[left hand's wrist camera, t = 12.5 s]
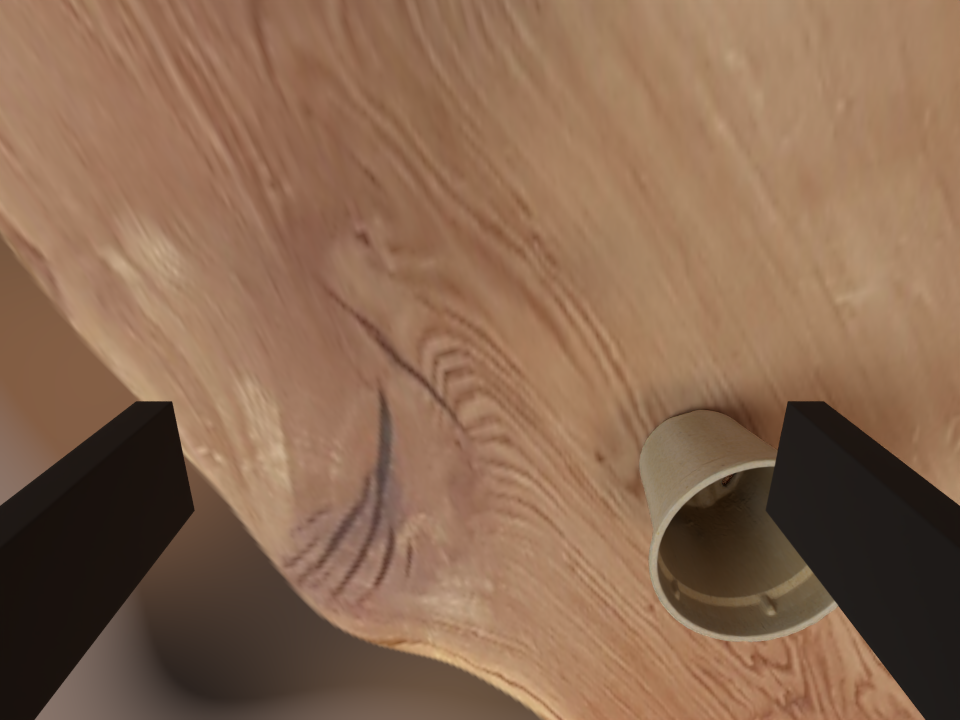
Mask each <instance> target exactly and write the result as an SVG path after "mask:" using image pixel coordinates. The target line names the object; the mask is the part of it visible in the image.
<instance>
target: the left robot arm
mask: <svg viewBox="0 0 960 720" xmlns="http://www.w3.org/2000/svg"><path fill="white" fill-rule="evenodd" d="M765 511H766V512H767V513H768V515H769V516H770V517H771V518H772V520H773V521H774V522H775V524H776V525H777V526H778V528H779V529H780V530H781V532H782V533H783V534H784V535H785V537H786V538H787V539H788V541H789V542H790V543H791V545H792V546H793V547H794V549H795V550H796V551H797V552H798V554H799V555H800V556H801V558H802V559H803V560H804V562H805V563H806V564H807V565H808V567H809V568H810V569H811V571H812V572H813V573H814V575H815V576H816V577H817V579H818V580H819V581H820V582H821V584H822V585H823V586H824V588H825V589H826V590H827V592H828V593H829V594H830V596H831V597H832V598H833V599H834V601H835V602H836V603H837V605H838V606H839V607H840V609H841V610H842V611H843V613H844V614H845V615H846V616H847V618H848V619H849V620H850V622H851V623H852V624H853V626H854V627H855V628H856V630H857V631H858V632H859V633H860V635H861V636H862V637H863V639H864V640H865V641H866V643H867V644H868V645H869V647H870V648H871V649H872V650H873V652H874V653H875V654H876V656H877V657H878V658H879V660H880V661H881V662H882V664H883V665H884V666H885V667H886V669H887V670H888V671H889V673H890V674H891V675H892V677H893V678H894V679H895V681H896V682H897V683H898V684H899V686H900V687H901V688H902V690H903V691H904V692H905V694H906V695H907V696H908V697H909V699H910V700H911V701H912V703H913V704H914V705H915V707H916V708H917V709H918V711H919V712H920V713H921V714H922V716H923V717H924V718H925V720H960V506H959V505H958V504H957V503H955V502H954V501H953V500H951V499H950V498H949V497H948V496H946V495H945V494H944V493H942V492H941V491H940V490H938V489H937V488H936V487H935V486H933V485H932V484H931V483H929V482H928V481H927V480H925V479H924V478H923V477H922V476H920V475H919V474H918V473H916V472H915V471H914V470H912V469H911V468H910V467H909V466H907V465H906V464H905V463H903V462H902V461H901V460H899V459H898V458H897V457H895V456H894V455H893V454H892V453H890V452H889V451H888V450H886V449H885V448H884V447H882V446H881V445H880V444H879V443H877V442H876V441H875V440H873V439H872V438H871V437H869V436H868V435H867V434H866V433H864V432H863V431H862V430H860V429H859V428H858V427H856V426H855V425H854V424H853V423H851V422H850V421H849V420H847V419H846V418H845V417H843V416H842V415H841V414H839V413H838V412H837V411H836V410H834V409H833V408H832V407H830V406H829V405H828V404H826V403H825V402H824V401H788V403H787V408H786V413H785V418H784V423H783V428H782V432H781V437H780V442H779V447H778V452H777V457H776V462H775V466H774V471H773V476H772V481H771V486H770V491H769V496H768V500H767V505H766V510H765ZM193 512H194V505H193V501H192V496H191V491H190V486H189V481H188V476H187V471H186V466H185V462H184V457H183V452H182V447H181V442H180V437H179V432H178V428H177V423H176V418H175V413H174V408H173V403H172V401H136V402H135V403H134V404H132V405H131V406H130V407H128V408H127V409H126V410H124V411H123V412H122V413H121V414H119V415H118V416H117V417H115V418H114V419H113V420H112V421H110V422H109V423H108V424H106V425H105V426H104V427H102V428H101V429H100V430H98V431H97V432H96V433H94V434H93V435H92V436H91V437H89V438H88V439H87V440H85V441H84V442H83V443H81V444H80V445H79V446H78V447H76V448H75V449H74V450H72V451H71V452H70V453H68V454H67V455H66V456H65V457H63V458H62V459H61V460H59V461H58V462H57V463H55V464H54V465H53V466H51V467H50V468H49V469H48V470H46V471H45V472H44V473H42V474H41V475H40V476H38V477H37V478H36V479H35V480H33V481H32V482H31V483H29V484H28V485H27V486H25V487H24V488H23V489H22V490H20V491H19V492H18V493H16V494H15V495H14V496H12V497H11V498H10V499H9V500H7V501H6V502H5V503H3V504H2V505H1V506H0V720H35V718H36V717H37V716H38V714H39V713H40V712H41V710H42V709H43V708H44V707H45V705H46V704H47V703H48V701H49V700H50V699H51V697H52V696H53V695H54V694H55V692H56V691H57V690H58V688H59V687H60V686H61V684H62V683H63V682H64V680H65V679H66V678H67V677H68V675H69V674H70V673H71V671H72V670H73V669H74V667H75V666H76V665H77V664H78V662H79V661H80V660H81V658H82V657H83V656H84V654H85V653H86V652H87V650H88V649H89V648H90V647H91V645H92V644H93V643H94V641H95V640H96V639H97V637H98V636H99V635H100V633H101V632H102V631H103V629H104V628H105V627H106V625H107V624H108V623H109V622H110V620H111V619H112V618H113V616H114V615H115V614H116V613H117V611H118V610H119V609H120V607H121V606H122V605H123V603H124V602H125V601H126V599H127V598H128V597H129V596H130V594H131V593H132V592H133V590H134V589H135V588H136V586H137V585H138V584H139V582H140V581H141V580H142V578H143V577H144V576H145V575H146V573H147V572H148V571H149V569H150V568H151V567H152V565H153V564H154V563H155V562H156V560H157V559H158V558H159V556H160V555H161V554H162V552H163V551H164V550H165V548H166V547H167V546H168V545H169V543H170V542H171V541H172V539H173V538H174V537H175V535H176V534H177V533H178V531H179V530H180V529H181V528H182V526H183V525H184V524H185V522H186V521H187V520H188V518H189V517H190V516H191V515H192V513H193Z"/></svg>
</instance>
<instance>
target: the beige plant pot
mask: <svg viewBox="0 0 960 720" xmlns="http://www.w3.org/2000/svg"><path fill="white" fill-rule="evenodd" d="M777 452H778V450H777V449H775V448H774V447H772V446H771V445H769V444H768V443H766V442H765V441H763V440H762V439H760V438H759V437H757V436H756V435H754V434H753V433H752V432H750V431H749V430H747V429H746V428H745V427H743V426H742V425H740V424H739V423H738V422H736V421H735V420H734V419H732V418H731V417H729V416H727V415H725V414H722V413H719V412H715V411H709V410H695V411H692V412H690V413H686V414H682V415H679V416H676V417H672V418H669V419H667V420H665V421H664V422H663V423H661V424H660V425H659V426H658V427H657V428H656V429H655V430H654V431H653V432H652V433H651V435H650V436H649V437H648V439H647V440H646V442H645V444H644V446H643V448H642V451H641V455H640V460H639V467H640V475H641V480H642V483H643V486H644V490H645V495H646V499H647V503H648V508H649V512H650V517H651V521H652V526H653V536H652V541H651V545H650V550H649V572H650V578H651V581H652V584H653V587H654V590H655V592H656V594H657V596H658V598H659V600H660V602H661V603H662V605H663V606H664V607H665V609H666V610H667V611H668V612H669V613H670V615H672V616H673V617H674V618H675V619H676V620H677V621H679V622H680V623H681V624H683V625H684V626H686V627H687V628H689V629H691V630H693V631H695V632H697V633H700V634H702V635H705V636H709V637H712V638H716V639H721V640H726V641H736V642H740V641H748V642H752V641H755V642H756V641H767V640H772V639H776V638H780V637H784V636H788V635H790V634H793V633H795V632H798V631H800V630H802V629H805V628H806V627H808V626H810V625H813V624H815V623H816V622H818V621H820V620H821V619H823V618H824V617H825V616H826V615H828V614H829V613H830V612H832V611H833V610H835V609H836V608H837V607H838V605H837V603H836V602H835V601H834V599H833V598H832V597H831V596H830V594H829V593H828V592H827V590H826V589H825V588H824V586H823V585H822V584H821V582H820V581H819V580H818V579H817V577H816V576H815V575H814V573H813V572H812V571H811V569H810V568H809V567H808V565H807V564H806V563H805V562H804V560H803V559H802V558H801V556H800V555H799V554H798V552H797V551H796V550H795V549H794V547H793V546H792V545H791V543H790V542H789V541H788V539H787V538H786V537H785V535H784V534H783V533H782V532H781V530H780V529H779V528H778V526H777V525H776V524H775V522H774V521H773V520H772V518H771V517H770V516H769V515H768V513H767V512H766V511H765V510H766V505H767V500H768V496H769V491H770V486H771V481H772V476H773V471H774V466H775V462H776V457H777ZM734 473H735V474H734ZM731 474H734V475H733V476H732V478H731V480H730V481H729V482H728V483H727V484H726V485H724V486H723V484H722V480H723V479H724V478H725V477H726V476H728V475H731Z"/></svg>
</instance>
